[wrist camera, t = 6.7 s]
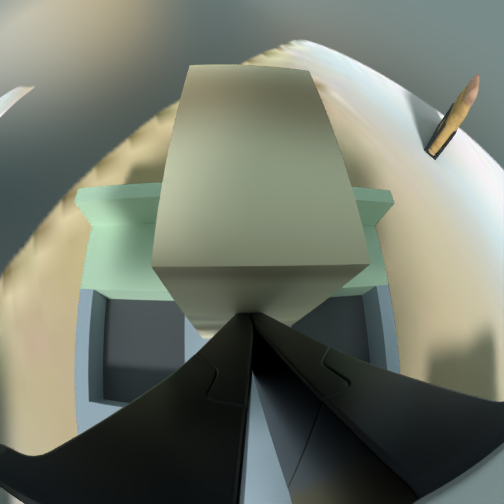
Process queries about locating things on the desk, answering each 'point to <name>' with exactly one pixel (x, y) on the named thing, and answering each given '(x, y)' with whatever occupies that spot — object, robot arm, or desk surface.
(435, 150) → the ammunition clip
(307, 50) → the desk surface
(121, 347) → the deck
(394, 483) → the robot arm
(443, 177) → the desk surface
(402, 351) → the desk surface
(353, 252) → the block
